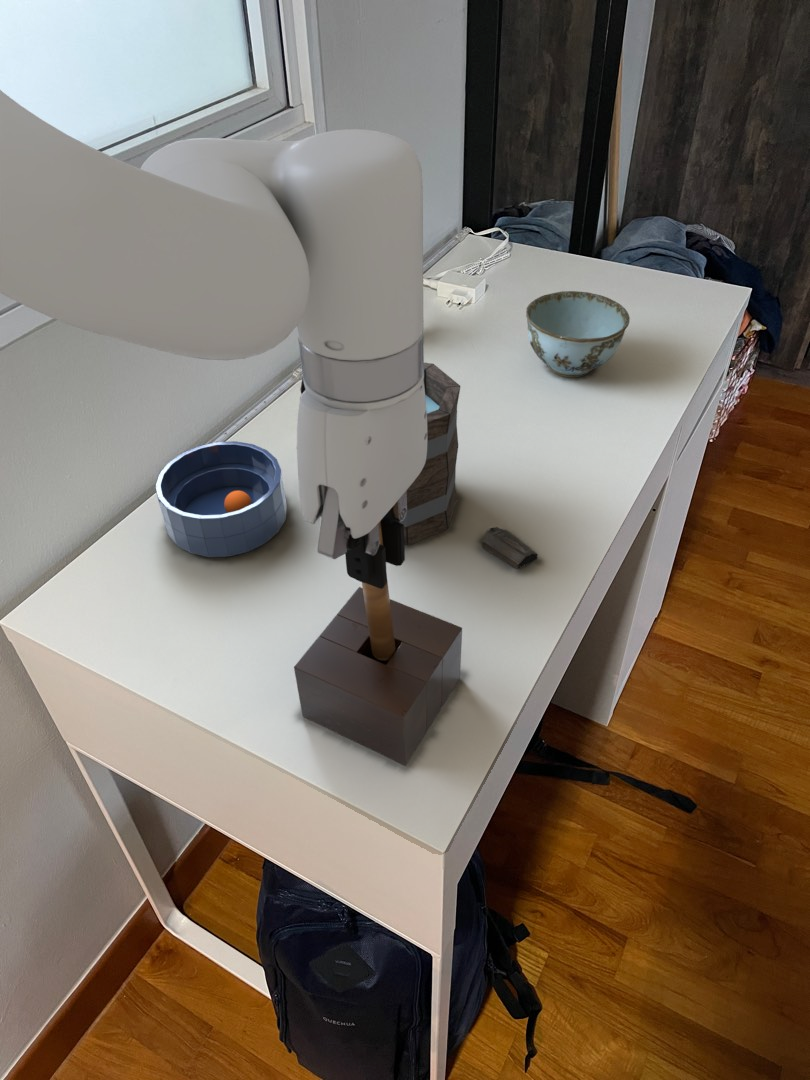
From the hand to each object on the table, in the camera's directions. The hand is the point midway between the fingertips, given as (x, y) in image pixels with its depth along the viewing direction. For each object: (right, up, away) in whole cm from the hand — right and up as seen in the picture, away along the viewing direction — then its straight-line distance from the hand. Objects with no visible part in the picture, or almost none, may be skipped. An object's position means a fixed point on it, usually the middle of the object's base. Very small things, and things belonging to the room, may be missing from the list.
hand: (376, 568), depth 63 cm
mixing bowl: (-18, +4, +29) cm, 34 cm away
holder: (0, -12, +11) cm, 16 cm away
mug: (-1, +7, +32) cm, 33 cm away
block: (+13, +1, +25) cm, 28 cm away
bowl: (+25, +26, +52) cm, 63 cm away
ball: (-16, +6, +28) cm, 33 cm away
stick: (0, -8, +7) cm, 11 cm away
